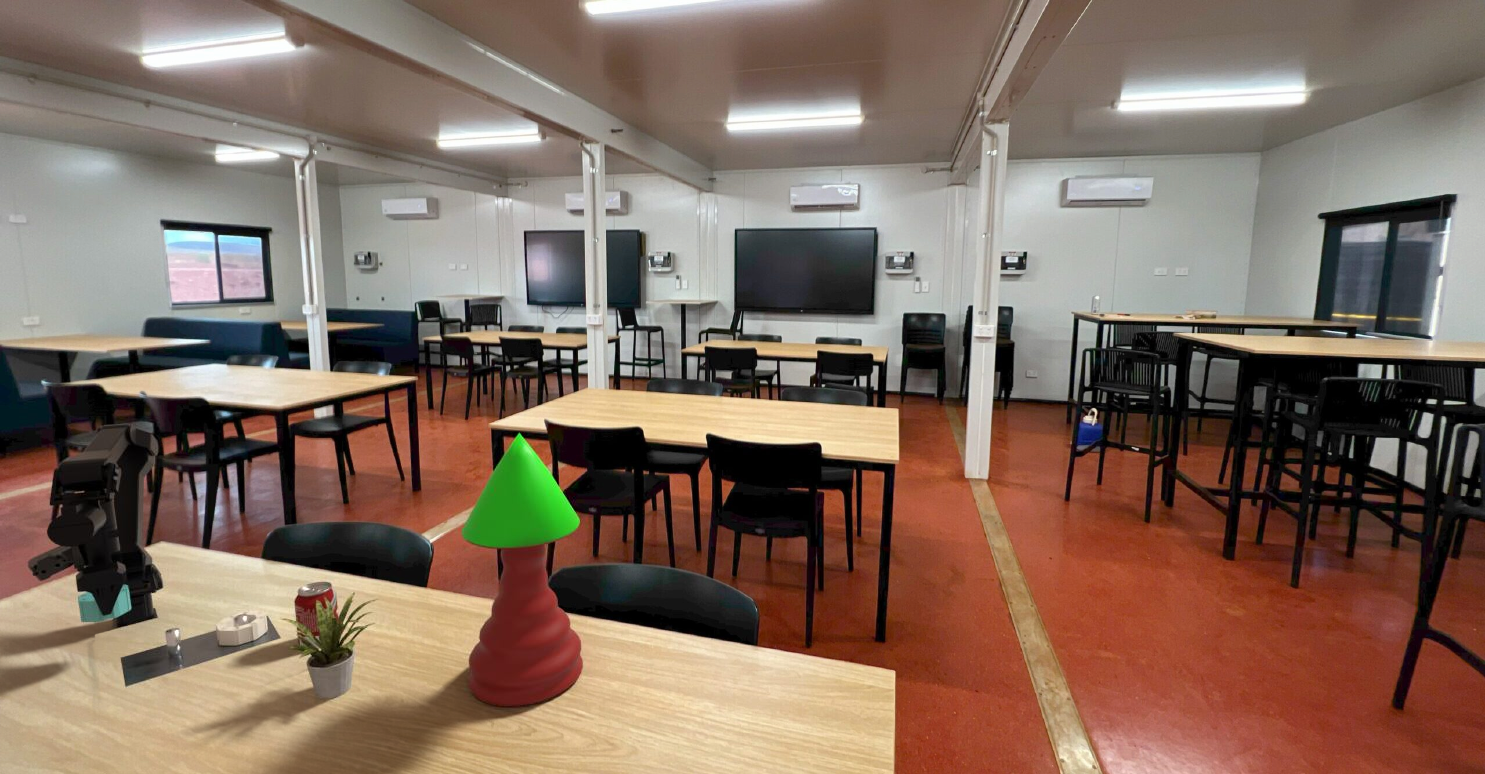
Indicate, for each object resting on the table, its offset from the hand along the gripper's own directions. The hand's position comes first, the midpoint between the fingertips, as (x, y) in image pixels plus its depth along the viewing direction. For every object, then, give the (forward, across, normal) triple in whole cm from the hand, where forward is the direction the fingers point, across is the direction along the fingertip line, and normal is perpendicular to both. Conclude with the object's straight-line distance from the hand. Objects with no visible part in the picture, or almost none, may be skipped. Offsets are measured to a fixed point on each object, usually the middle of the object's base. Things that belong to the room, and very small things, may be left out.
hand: (105, 607), depth 119 cm
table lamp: (+10, +58, +52) cm, 78 cm away
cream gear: (+9, +10, +18) cm, 22 cm away
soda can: (+10, +22, +28) cm, 37 cm away
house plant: (+10, +40, +27) cm, 49 cm away
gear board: (+10, +10, +12) cm, 18 cm away
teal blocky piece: (+1, 0, 0) cm, 1 cm away
